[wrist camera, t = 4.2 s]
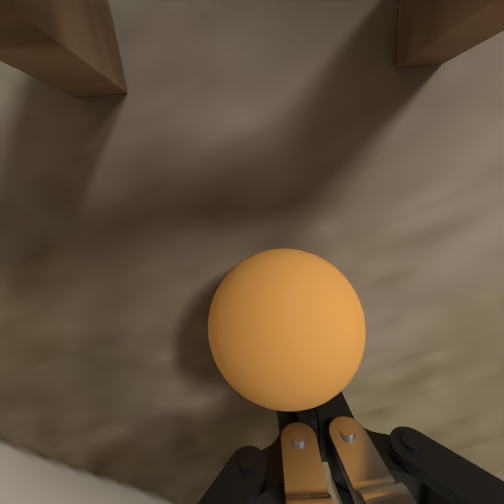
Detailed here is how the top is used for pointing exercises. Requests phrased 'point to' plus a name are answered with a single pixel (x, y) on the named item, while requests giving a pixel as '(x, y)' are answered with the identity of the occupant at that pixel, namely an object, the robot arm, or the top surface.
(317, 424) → the robot arm
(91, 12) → the bridge
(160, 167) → the top surface
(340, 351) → the ball
